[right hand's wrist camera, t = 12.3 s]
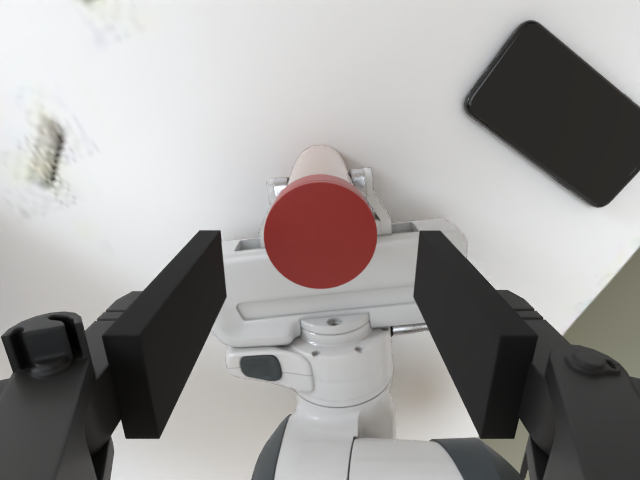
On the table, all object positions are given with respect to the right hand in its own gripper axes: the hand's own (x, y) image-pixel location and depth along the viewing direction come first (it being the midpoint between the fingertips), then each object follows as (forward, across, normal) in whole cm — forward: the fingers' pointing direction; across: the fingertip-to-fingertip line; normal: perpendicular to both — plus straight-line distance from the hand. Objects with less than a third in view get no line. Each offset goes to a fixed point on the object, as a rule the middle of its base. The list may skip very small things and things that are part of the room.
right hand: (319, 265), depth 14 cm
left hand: (+14, 0, -1) cm, 14 cm away
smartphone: (+20, -20, -4) cm, 29 cm away
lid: (+3, 0, 0) cm, 3 cm away
